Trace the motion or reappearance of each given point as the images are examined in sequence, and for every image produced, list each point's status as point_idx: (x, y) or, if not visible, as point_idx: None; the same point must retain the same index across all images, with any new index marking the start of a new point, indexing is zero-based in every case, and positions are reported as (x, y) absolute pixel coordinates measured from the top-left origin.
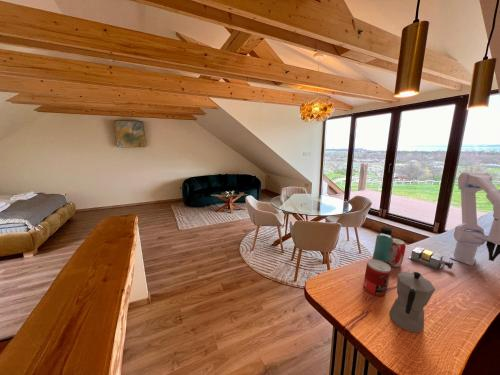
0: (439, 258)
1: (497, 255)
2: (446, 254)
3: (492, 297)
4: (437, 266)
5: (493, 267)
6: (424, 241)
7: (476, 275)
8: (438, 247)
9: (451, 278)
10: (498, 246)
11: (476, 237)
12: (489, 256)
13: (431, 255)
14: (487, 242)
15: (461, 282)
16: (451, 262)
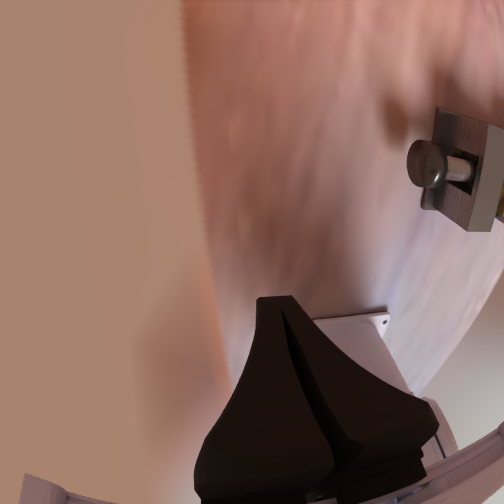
0: (486, 159)
1: (251, 353)
2: (395, 333)
3: (194, 12)
4: (457, 120)
5: (236, 377)
6: (442, 362)
7: (288, 228)
8: (409, 362)
9: (386, 58)
10: (297, 485)
11: (496, 445)
12: (306, 317)
13: None
14: (416, 463)
15: (342, 49)
16: (439, 170)
